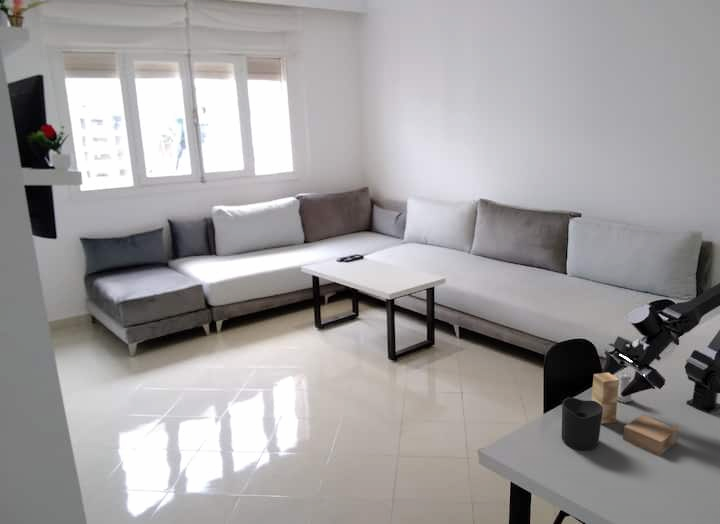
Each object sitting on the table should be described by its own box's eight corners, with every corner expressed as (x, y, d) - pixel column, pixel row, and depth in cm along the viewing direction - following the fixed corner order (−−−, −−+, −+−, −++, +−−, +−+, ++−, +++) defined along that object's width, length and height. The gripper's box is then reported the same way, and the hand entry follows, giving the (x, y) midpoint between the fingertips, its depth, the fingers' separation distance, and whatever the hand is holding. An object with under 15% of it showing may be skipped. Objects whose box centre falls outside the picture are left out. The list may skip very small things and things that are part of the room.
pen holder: (580, 456, 132) (583, 419, 130) (551, 437, 140) (554, 402, 138) (608, 445, 136) (611, 409, 134) (578, 427, 144) (581, 393, 142)
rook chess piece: (633, 403, 156) (635, 378, 154) (616, 402, 156) (618, 377, 154) (628, 396, 160) (631, 371, 158) (612, 395, 161) (614, 370, 159)
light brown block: (640, 428, 144) (642, 414, 143) (676, 443, 137) (678, 429, 136) (622, 440, 139) (624, 426, 138) (659, 456, 132) (660, 442, 131)
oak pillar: (604, 413, 151) (608, 372, 148) (615, 422, 146) (619, 379, 143) (590, 415, 150) (593, 374, 147) (600, 424, 146) (603, 381, 143)
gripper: (612, 315, 152) (573, 356, 153) (660, 340, 134) (616, 386, 135) (634, 339, 155) (596, 379, 156) (684, 366, 138) (640, 411, 138)
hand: (610, 387), depth 146 cm, fingers open, 9 cm apart
